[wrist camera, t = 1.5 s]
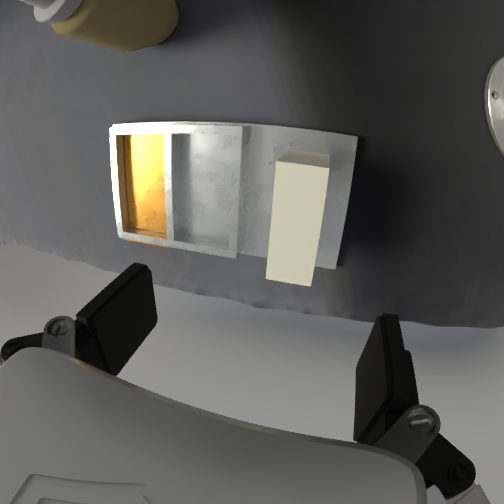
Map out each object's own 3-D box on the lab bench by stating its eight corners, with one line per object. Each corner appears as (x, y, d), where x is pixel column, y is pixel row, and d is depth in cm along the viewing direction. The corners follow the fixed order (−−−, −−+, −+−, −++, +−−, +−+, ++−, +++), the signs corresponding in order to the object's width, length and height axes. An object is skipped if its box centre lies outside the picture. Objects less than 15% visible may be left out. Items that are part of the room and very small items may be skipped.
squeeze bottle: (190, 47, 23) (41, 9, 8) (124, 63, 25) (-21, 63, 9) (190, -18, 20) (65, -85, 4) (126, 3, 22) (-5, -25, 6)
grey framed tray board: (356, 136, 24) (359, 138, 22) (335, 265, 30) (334, 277, 28) (117, 124, 28) (103, 126, 26) (124, 229, 34) (112, 237, 32)
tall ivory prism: (329, 154, 24) (329, 168, 18) (316, 247, 28) (310, 286, 22) (289, 149, 25) (276, 161, 19) (280, 241, 29) (265, 278, 23)
